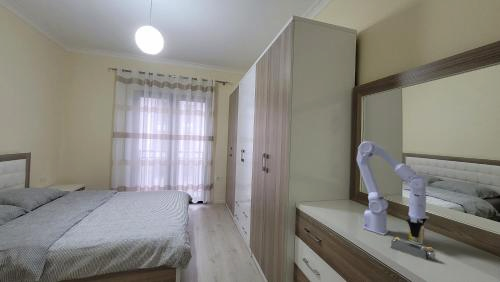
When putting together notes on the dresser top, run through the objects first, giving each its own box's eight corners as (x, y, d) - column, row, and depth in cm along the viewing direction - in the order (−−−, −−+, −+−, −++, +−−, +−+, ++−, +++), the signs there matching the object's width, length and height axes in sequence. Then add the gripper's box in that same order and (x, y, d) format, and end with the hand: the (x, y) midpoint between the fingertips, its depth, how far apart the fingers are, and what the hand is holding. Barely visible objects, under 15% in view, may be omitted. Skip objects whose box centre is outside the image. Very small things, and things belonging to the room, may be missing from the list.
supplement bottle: (415, 244, 91) (416, 222, 91) (405, 238, 96) (406, 217, 96) (427, 244, 92) (428, 222, 92) (416, 238, 97) (417, 217, 97)
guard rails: (391, 244, 90) (391, 241, 90) (396, 239, 95) (396, 236, 95) (429, 257, 81) (429, 254, 81) (432, 250, 86) (433, 247, 86)
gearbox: (391, 247, 87) (391, 239, 87) (393, 245, 90) (393, 237, 90) (434, 262, 77) (434, 253, 77) (435, 259, 80) (435, 250, 80)
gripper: (426, 209, 86) (425, 243, 86) (431, 203, 96) (430, 233, 96) (405, 205, 91) (403, 237, 91) (412, 200, 101) (411, 228, 101)
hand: (416, 235), depth 94 cm, fingers open, 6 cm apart
